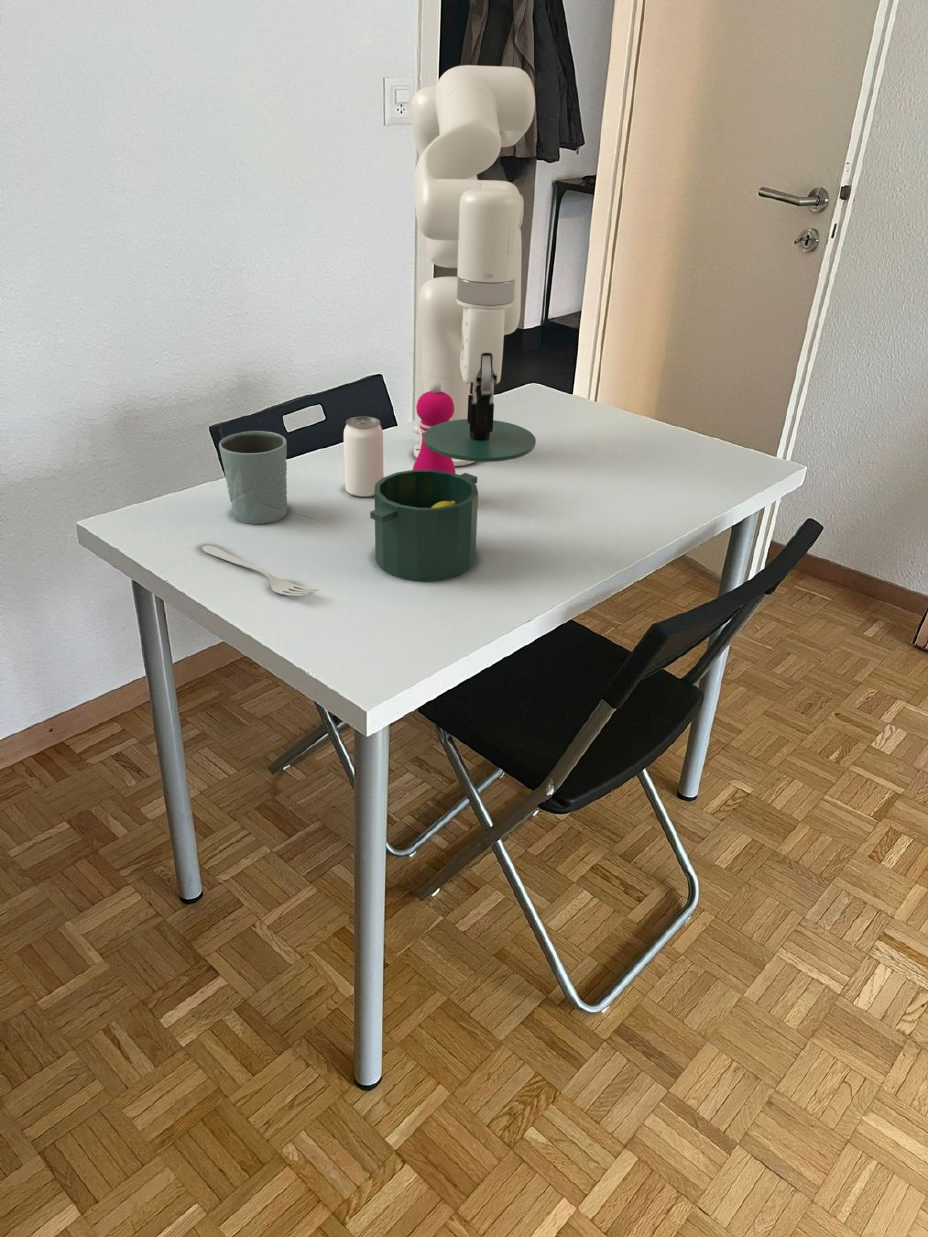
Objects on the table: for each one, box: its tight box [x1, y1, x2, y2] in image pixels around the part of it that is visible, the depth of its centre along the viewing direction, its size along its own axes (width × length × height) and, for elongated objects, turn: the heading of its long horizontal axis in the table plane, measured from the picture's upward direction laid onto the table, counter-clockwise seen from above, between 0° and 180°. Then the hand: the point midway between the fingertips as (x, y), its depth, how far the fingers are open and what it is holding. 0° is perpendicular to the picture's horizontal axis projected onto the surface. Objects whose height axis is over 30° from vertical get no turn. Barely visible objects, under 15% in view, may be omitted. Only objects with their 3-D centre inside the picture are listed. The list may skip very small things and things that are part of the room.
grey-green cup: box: [218, 430, 288, 525], centre depth 153 cm, size 10×10×12 cm
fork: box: [201, 544, 319, 597], centre depth 138 cm, size 3×24×2 cm, turn 49°
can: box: [343, 416, 384, 498], centre depth 162 cm, size 6×6×12 cm
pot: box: [369, 469, 479, 582], centre depth 141 cm, size 15×20×11 cm
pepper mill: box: [412, 382, 457, 474], centre depth 157 cm, size 7×7×20 cm
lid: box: [424, 398, 537, 463], centre depth 136 cm, size 16×16×7 cm
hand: (479, 426), depth 137 cm, fingers closed on lid, 2 cm apart
